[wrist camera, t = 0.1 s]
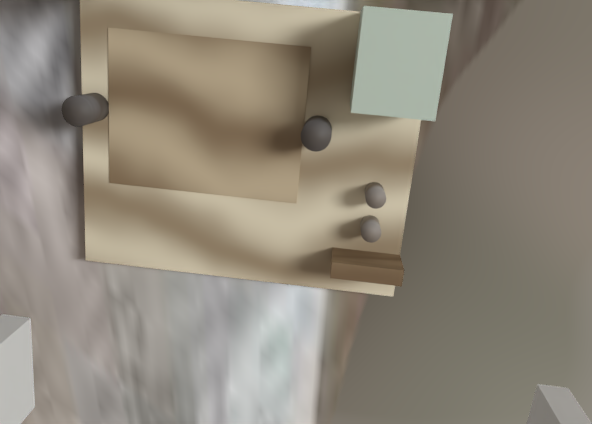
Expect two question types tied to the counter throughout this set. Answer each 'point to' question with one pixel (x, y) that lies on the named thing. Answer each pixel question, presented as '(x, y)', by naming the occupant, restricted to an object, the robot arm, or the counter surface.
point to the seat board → (237, 145)
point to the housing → (399, 62)
